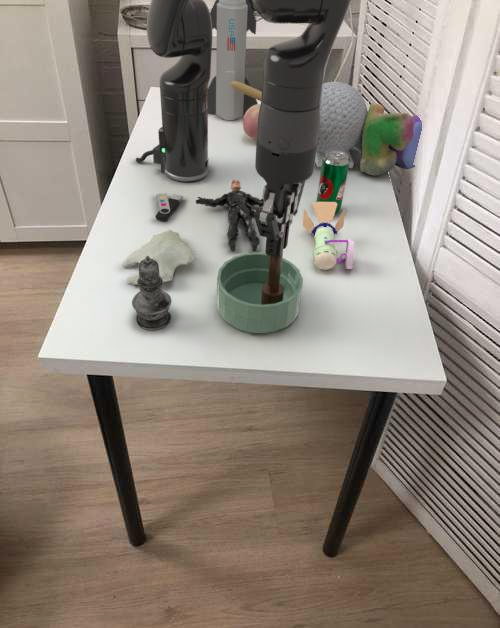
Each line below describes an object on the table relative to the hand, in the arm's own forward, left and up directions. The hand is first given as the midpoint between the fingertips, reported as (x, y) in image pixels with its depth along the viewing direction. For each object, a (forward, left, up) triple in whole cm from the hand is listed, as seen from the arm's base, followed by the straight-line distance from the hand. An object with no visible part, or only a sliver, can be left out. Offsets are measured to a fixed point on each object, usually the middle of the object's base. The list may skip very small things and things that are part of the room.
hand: (276, 250), depth 80 cm
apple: (-26, +55, -12) cm, 62 cm away
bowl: (-2, 0, -12) cm, 12 cm away
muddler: (0, 0, -10) cm, 10 cm away
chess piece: (-16, -10, -12) cm, 22 cm away
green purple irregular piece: (+11, +60, -7) cm, 61 cm away
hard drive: (-8, +56, -12) cm, 58 cm away
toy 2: (-28, +70, -8) cm, 76 cm away
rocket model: (-38, +64, -12) cm, 76 cm away
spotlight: (+3, +19, -12) cm, 23 cm away
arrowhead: (-22, +3, -12) cm, 25 cm away
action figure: (-15, +21, -12) cm, 29 cm away
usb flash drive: (-30, +18, -12) cm, 37 cm away
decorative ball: (-2, +50, -5) cm, 51 cm away
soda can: (-1, +33, -12) cm, 35 cm away
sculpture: (0, +54, -5) cm, 55 cm away
